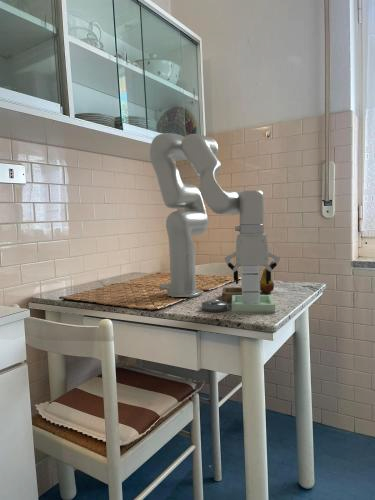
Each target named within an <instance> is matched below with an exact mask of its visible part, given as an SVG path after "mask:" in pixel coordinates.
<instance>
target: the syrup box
mask: <svg viewBox="0 0 375 500" xmlns="http://www.w3.org/2000/svg"><path fill="white" fill-rule="evenodd" d="M240 268H241V269H240V270H241V271H240V272H241V273H240V274H241V287H242V304H260V295H261V290H260V280H261V277H260V273H261V272H260V266H259V265H254V266H244V265H241V266H240Z"/></svg>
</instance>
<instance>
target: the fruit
mask: <svg viewBox="0 0 375 500" xmlns="http://www.w3.org/2000/svg"><path fill="white" fill-rule="evenodd" d="M273 262H274V261H271V262H270V264H268V265H269V266H270V265H271V264H272V263H273ZM266 270H267V269H266V267H264V269H263V271H262V275H261V277H260V292H262V293H264V294H270V293H272V292H273V290H274V288H275V284H274V283H275V282H274V280H273V278H272V277H271V281H269V284H266Z"/></svg>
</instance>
